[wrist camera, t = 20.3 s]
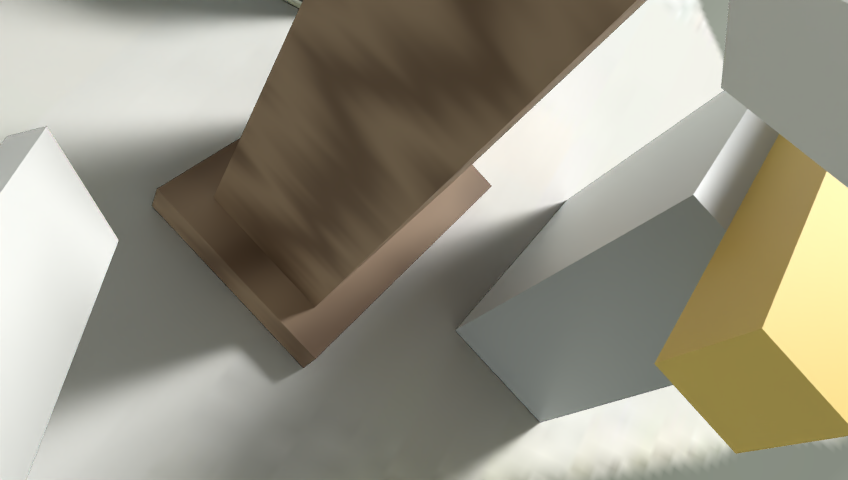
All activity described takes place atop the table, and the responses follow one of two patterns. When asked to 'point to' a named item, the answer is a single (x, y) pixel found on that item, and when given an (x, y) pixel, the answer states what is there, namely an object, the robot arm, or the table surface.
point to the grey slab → (619, 266)
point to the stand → (369, 148)
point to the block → (771, 313)
